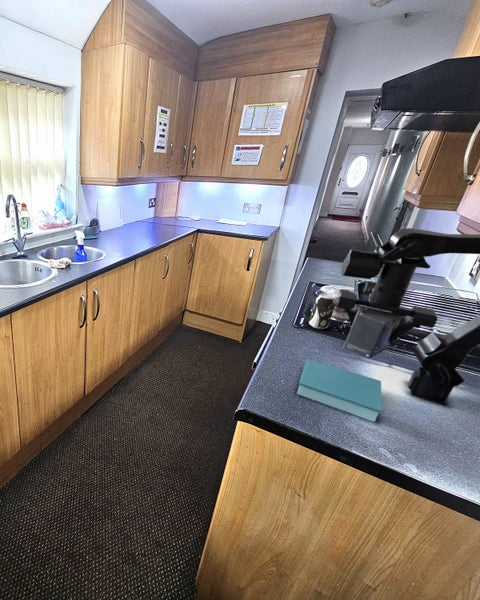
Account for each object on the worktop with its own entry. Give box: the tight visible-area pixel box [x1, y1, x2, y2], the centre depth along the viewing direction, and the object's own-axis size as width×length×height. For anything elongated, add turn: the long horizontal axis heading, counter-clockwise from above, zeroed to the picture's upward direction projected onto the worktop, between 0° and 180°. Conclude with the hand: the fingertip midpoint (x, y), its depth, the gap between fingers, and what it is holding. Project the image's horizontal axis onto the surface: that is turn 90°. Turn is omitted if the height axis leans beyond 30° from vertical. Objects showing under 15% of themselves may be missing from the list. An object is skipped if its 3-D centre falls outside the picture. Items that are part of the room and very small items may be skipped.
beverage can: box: [308, 292, 337, 330], centre depth 115 cm, size 6×6×12 cm
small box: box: [342, 308, 402, 360], centre depth 85 cm, size 11×6×10 cm, turn 120°
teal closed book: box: [296, 358, 383, 423], centre depth 83 cm, size 16×14×4 cm
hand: (370, 337), depth 85 cm, fingers closed on small box, 7 cm apart
